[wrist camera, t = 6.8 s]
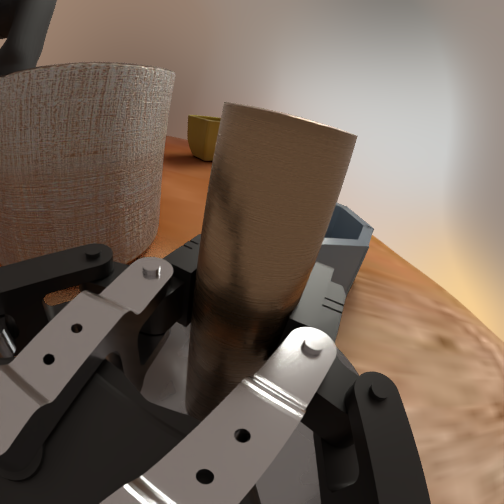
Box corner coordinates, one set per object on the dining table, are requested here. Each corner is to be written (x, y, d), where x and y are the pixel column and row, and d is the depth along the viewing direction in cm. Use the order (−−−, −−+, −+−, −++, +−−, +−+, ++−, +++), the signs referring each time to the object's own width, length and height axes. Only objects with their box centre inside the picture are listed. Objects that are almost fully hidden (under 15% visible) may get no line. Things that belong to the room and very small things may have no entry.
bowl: (223, 229, 31) (231, 181, 28) (317, 234, 35) (330, 194, 32) (254, 305, 21) (272, 242, 18) (372, 296, 25) (396, 248, 22)
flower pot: (214, 153, 63) (220, 117, 59) (236, 163, 58) (244, 123, 54) (181, 154, 58) (187, 114, 53) (201, 164, 53) (208, 120, 48)
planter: (177, 281, 22) (206, 67, 14) (-24, 300, 13) (-57, 90, 5) (145, 197, 34) (160, 76, 27) (20, 206, 26) (19, 82, 18)
